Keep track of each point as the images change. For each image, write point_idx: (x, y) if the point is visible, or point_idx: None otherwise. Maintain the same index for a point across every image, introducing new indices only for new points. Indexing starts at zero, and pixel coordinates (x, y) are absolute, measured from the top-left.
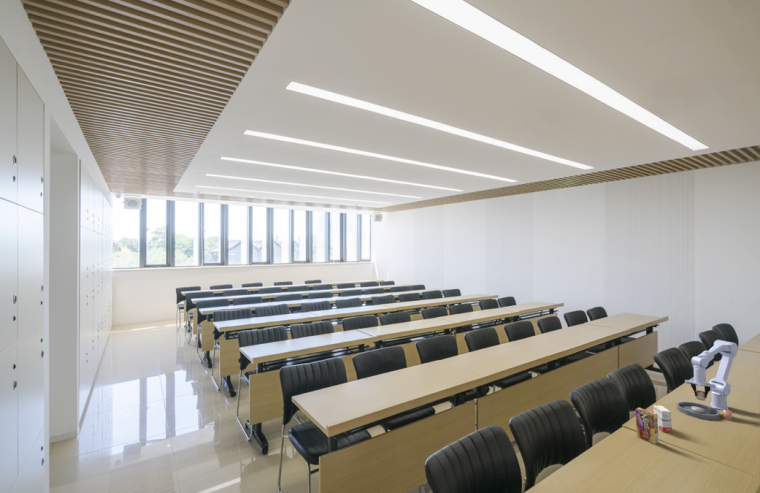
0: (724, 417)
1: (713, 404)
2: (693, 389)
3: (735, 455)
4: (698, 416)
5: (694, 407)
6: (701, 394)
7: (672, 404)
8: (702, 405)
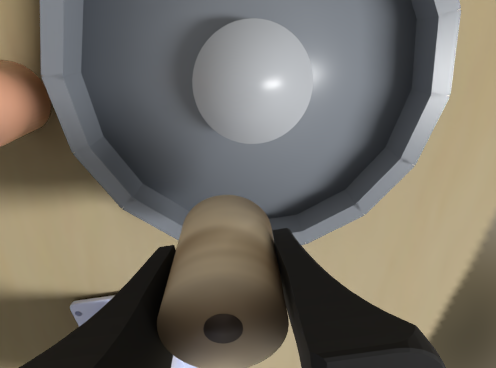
0: (19, 71)
1: None
2: (347, 294)
3: None
4: None
5: (281, 91)
6: (205, 251)
7: (449, 144)
8: None
